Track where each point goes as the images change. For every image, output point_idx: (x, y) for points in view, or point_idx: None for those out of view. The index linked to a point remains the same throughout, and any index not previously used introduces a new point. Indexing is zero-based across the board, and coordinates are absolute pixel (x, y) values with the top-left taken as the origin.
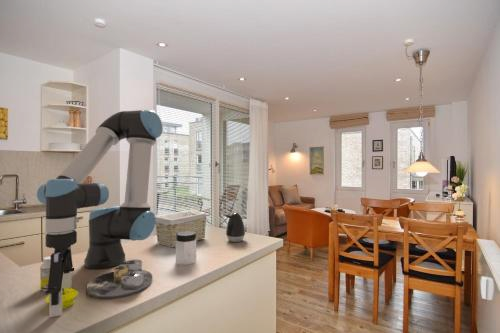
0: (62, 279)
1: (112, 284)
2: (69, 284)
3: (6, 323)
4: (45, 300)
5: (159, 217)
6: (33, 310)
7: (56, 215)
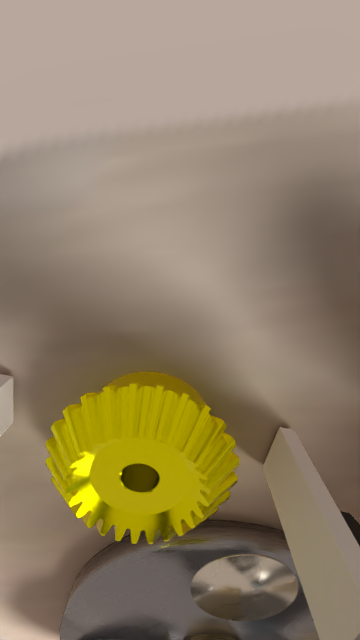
0: (329, 550)
1: (185, 624)
2: (287, 523)
3: (46, 153)
4: (130, 383)
5: None
6: (157, 297)
7: None
